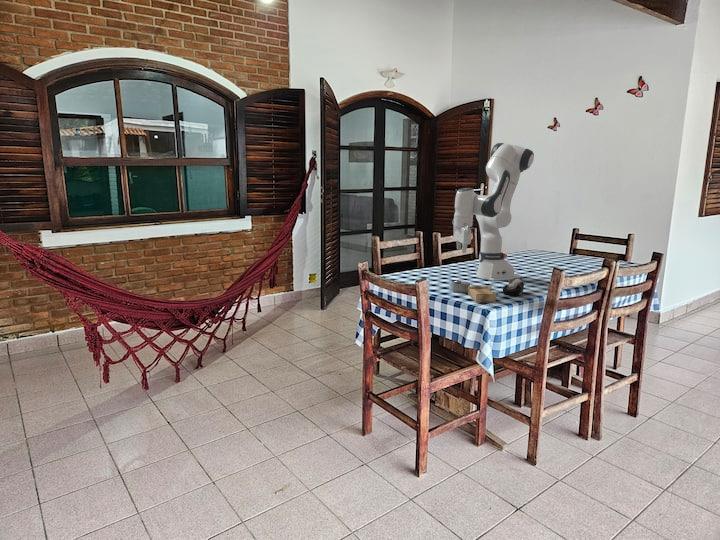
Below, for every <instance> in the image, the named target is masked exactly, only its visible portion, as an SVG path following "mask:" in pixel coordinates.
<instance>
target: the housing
mask: <svg viewBox="0 0 720 540" xmlns="http://www.w3.org/2000/svg"><path fill="white" fill-rule="evenodd" d="M468 286H471V283H470V282H469V281H461V280H454V281H451V282H450V287H451V288H450V290H451V292H452V293H468Z"/></svg>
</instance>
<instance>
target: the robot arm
mask: <svg viewBox="0 0 720 540" xmlns="http://www.w3.org/2000/svg"><path fill="white" fill-rule="evenodd" d="M489 156H490V158H489V160H488V162H487V163H486V165H485V172H486V175H487V176H488V178H489V179H490V180H492V181H493V182H495V183H494V185H493V188H492V190H491V194H488V195H483V194H478V193H476V192H475V191H474V188H472V187H462V188H461V187H460V188H459V189H457V191H456V195H455V197H454V214H453V219H452V225H453V230H452V231H453V235H452V236H453V238H454V239H453V240H455V241H456V249H457V250H458V251H459V250H461V253H463V254H467V249H468V245H471V243H472V229H471V227H473V224H474V223H473V222H474V220H473V219H474V215H475V219H476V220H477V222H478V226H479V227H478V228H479V233H480V251H479V255H478V261H479V263H478V268H477V272H476V274H475V277H476V278H479V279H481V280H482V279H483V280H489V281H494V282H495V281H508V280H509V279H513V278H518V277H519V276H518V275H517V274H515V269H514V266H513V265H512V264H511V263H509V262H508V261H507V260H506V259H505V258H507V257H508V254H507V253H503V252H502V248H503V247H502V244H503V236H502V235H501V233H500V230H499V229H501V228H502V229H503V228H506V227H508V226H509V225H510V223H511V221H512V219H513V218H512V217H513V216H512V214H511V204H512V199H513V196H514V194H515V191H516V189H517V186H518V184H519V180H520V177H521V173H523V172H524V171H527V170H529V168H530V167H531V166H532V164H533V163H534V158H535V154H534V151H533V150H531V149H530V148H525V147H524V146H523V147H522V146H519V145H516V144H515V145H514V144H508V143H503V142H498V143H496V144H494V145H493V146H492V149H491V151H490V155H489Z"/></svg>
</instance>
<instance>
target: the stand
mask: <svg viewBox="0 0 720 540" xmlns="http://www.w3.org/2000/svg"><path fill="white" fill-rule="evenodd" d="M467 295H468V296H469V297H470V298H471V299H472V300H473V301H474V302H475V303H496V302H497V293H496V292H494V293H493V292H492V291H490V290H489V289H488V287H487V286H484V285H481V286H479V285H478V286H477V285H475V286H473V285H472V286H471V285H470V286H468V292H467Z"/></svg>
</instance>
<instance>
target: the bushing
mask: <svg viewBox="0 0 720 540" xmlns="http://www.w3.org/2000/svg"><path fill="white" fill-rule="evenodd" d="M483 286H487V287H488V289H489V290H490V291H491V292H492V288H493V287H492V285H488V284H487V285H485V284H484V285H483Z"/></svg>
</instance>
